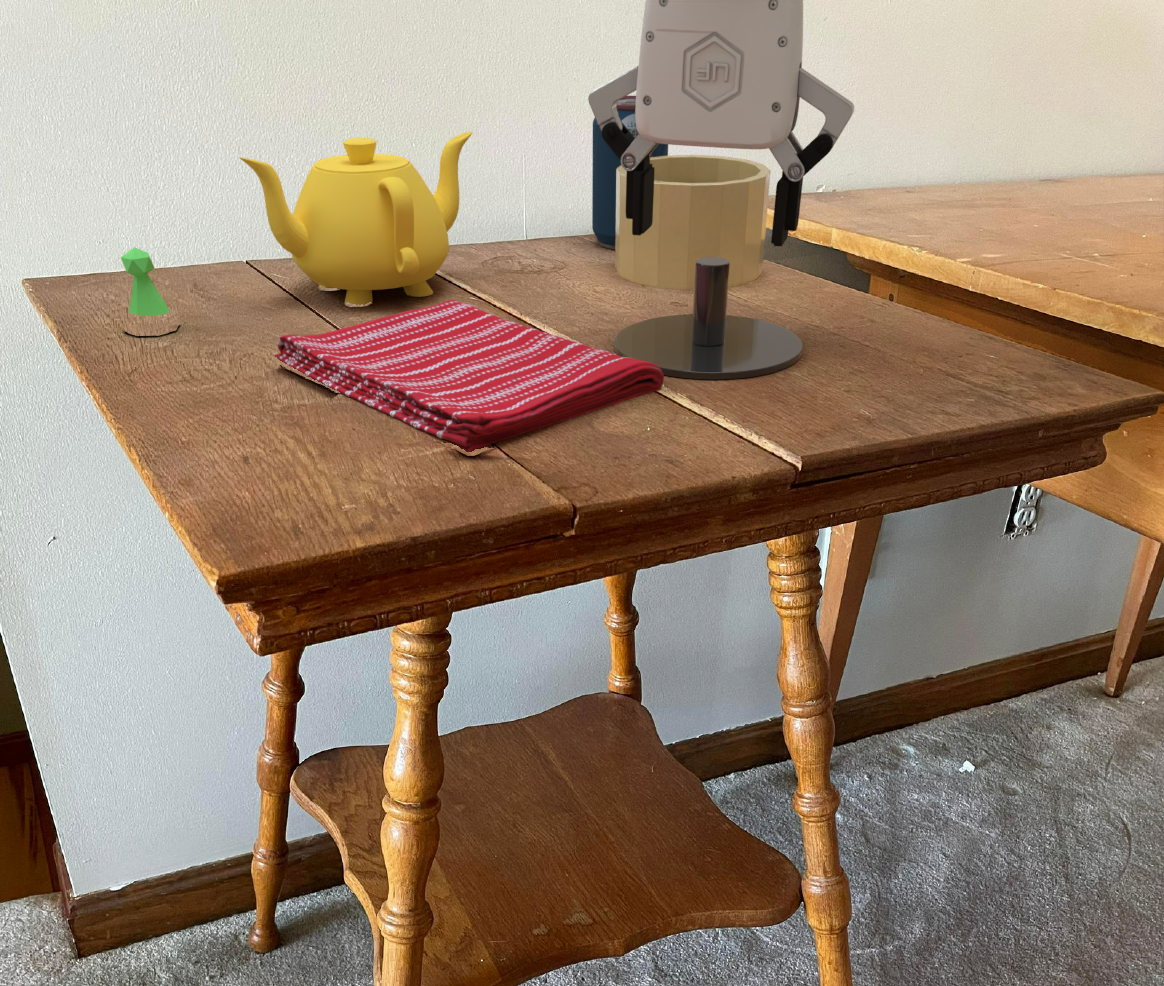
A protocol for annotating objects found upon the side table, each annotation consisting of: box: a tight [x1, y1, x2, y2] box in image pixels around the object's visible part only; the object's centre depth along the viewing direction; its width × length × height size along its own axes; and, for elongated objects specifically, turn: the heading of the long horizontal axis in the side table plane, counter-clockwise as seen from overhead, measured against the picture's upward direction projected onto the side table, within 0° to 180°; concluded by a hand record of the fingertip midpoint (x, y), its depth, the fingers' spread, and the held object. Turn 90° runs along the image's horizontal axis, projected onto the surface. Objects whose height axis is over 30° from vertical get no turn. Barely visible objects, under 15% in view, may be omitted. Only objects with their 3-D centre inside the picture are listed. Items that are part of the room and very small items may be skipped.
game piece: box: [120, 247, 170, 316], centre depth 91 cm, size 4×4×6 cm
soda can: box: [591, 95, 669, 250], centre depth 110 cm, size 7×7×12 cm
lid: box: [613, 257, 804, 381], centre depth 85 cm, size 14×14×7 cm
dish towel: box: [274, 299, 665, 452], centre depth 82 cm, size 17×24×3 cm
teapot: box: [238, 131, 473, 305], centre depth 97 cm, size 20×15×12 cm
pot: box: [614, 154, 771, 291], centre depth 102 cm, size 13×13×8 cm
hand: (710, 236), depth 82 cm, fingers open, 9 cm apart
